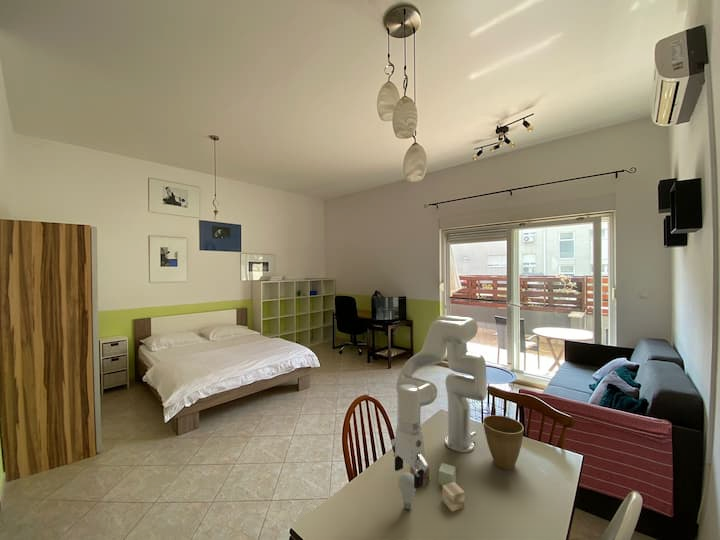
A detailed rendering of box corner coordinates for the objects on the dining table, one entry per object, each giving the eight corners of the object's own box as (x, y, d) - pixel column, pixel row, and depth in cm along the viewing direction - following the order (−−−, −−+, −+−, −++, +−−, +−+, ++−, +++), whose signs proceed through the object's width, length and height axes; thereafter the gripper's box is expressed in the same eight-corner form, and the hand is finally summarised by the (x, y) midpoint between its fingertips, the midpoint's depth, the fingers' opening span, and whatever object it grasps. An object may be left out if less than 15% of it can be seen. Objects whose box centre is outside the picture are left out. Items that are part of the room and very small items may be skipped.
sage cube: (442, 476, 109) (442, 462, 110) (455, 480, 107) (455, 467, 107) (438, 484, 105) (438, 470, 105) (453, 489, 103) (452, 475, 103)
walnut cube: (417, 474, 111) (417, 460, 111) (429, 480, 107) (429, 466, 107) (410, 480, 107) (410, 467, 107) (422, 487, 104) (421, 473, 104)
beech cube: (454, 496, 99) (454, 481, 99) (464, 507, 95) (464, 491, 95) (442, 500, 98) (442, 485, 98) (452, 511, 93) (451, 495, 93)
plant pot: (514, 453, 124) (513, 415, 124) (531, 477, 109) (530, 434, 109) (478, 451, 125) (478, 413, 125) (490, 474, 110) (490, 432, 111)
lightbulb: (404, 498, 98) (404, 465, 99) (420, 507, 94) (420, 473, 95) (394, 509, 94) (394, 475, 94) (411, 519, 90) (411, 483, 90)
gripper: (436, 433, 89) (436, 490, 88) (400, 411, 104) (400, 460, 103) (418, 440, 85) (417, 499, 85) (384, 416, 100) (383, 466, 99)
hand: (408, 477), depth 94 cm, fingers open, 9 cm apart
